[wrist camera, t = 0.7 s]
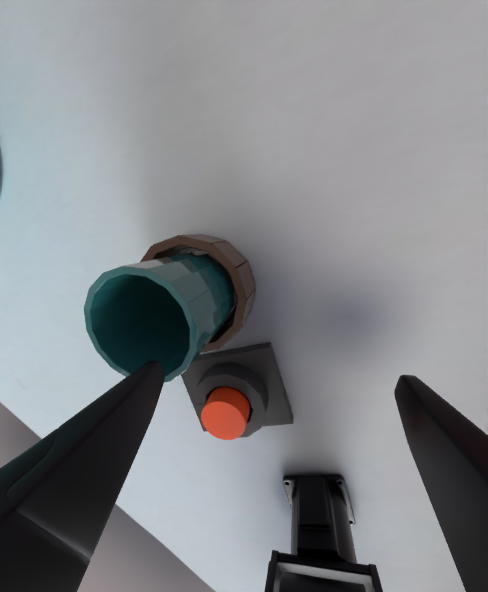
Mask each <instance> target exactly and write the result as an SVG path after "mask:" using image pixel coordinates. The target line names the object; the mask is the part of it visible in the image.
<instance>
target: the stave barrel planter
mask: <svg viewBox="0 0 488 592" xmlns="http://www.w3.org/2000/svg"><path fill="white" fill-rule="evenodd" d="M187 247H191V248H195V249H199V250H203V251H207V252H209V253H210V254H211V255H212V256H213V257H214V258H215V259H216V260H217V261H218V262H219V263H220V264H221V265H222V266H223V267H225V268H226V269H227V270H228V271H229V273H230V276H231V279H232V282H233V285H234V288H235V291H236V295H237V298H238V302H237V307H236V311H235V316H234V319H233V320H232V321H231V322H230V323H229V324H224V325H222V326H221V327H220V328H219V330H218V331H217V332H216V333H215V335H214V336H213V337H212V339H211V340H210V341H209V342H208V344H207V345H206V346H205V347H204V349H203V350H202V351H201V353H202V352H207V351H212V350H217V349H220V348H222V347H223V346H224V345H225V344H226V343H227V342H228V341H229V340H230V339H231V338H232V337H233V336H234V335H235V334H236V333H237V332H239V331H240V329H241V327H242V325H243V324H244V322H245V320H246V318H247V317H248V315H249V313H250V311H251V307H252V302H253V298H254V294H255V290H256V288H255V287H256V286H255V282H254V279H253V276H252V273H251V269H250V266H249V263H248V261H247V259H246V258H245V257H243V256H242V255H241V254H240V253H239V252H238V251H237V250H236V249H235V248H234V247H233V246H232V245H231V244H230V243H229V242H226V240H222V239H218V238H214V237H210V236H206V235H180V236H176V237H173V238H170V239H168V240H165V241H162V242H159V243H157V244H154V245H153V246H151V247H150V249H149V250H148V251H147V253H146V254H145V256H144V257H143V259H142V260H141V261H140V262H145V261H150V260H155V259H160V258H165V257H169V256H174V255H177V254H178V252H179V251H180V250H181V249H184V248H187ZM246 261H247V262H246Z"/></svg>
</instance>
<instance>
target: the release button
mask: <svg viewBox="0 0 488 592" xmlns="http://www.w3.org/2000/svg"><path fill="white" fill-rule="evenodd" d="M249 411H250V405H249V401H248V399H247V398H246V396H245V395H244V394H243V393H242V392H241V391H239V390H237V389H235V388H232V387H227V386H224V387H219V388H217V389H215V390H214V391H213V392H212V393H211V394H210V396H209V398H208V400H207V402H206V404H205V406H204V408H203V410H202V413H201V420H202V423H203V425H204V427H205V428H206V430H207V431H208V432H209V433H210V434H212V435H213V436H215V437H217V438H220V439H224V440H233V439H236V438H238V437H240V436H241V435H242V434H243V432H244V430H245V427H246V423H247V419H248V415H249Z"/></svg>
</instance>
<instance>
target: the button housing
mask: <svg viewBox="0 0 488 592" xmlns="http://www.w3.org/2000/svg"><path fill="white" fill-rule="evenodd" d="M181 376H182V379H183V381H184V384H185V386H186V389H187V391H188V393H189V396H190V398H191V401H192V403H193V406H194V408H195V411H196V413H197V416H198V418H199V421H200V423H201V426H202V428H203V431H207V430H206V428H205V427H204V425H203V423H202V420H201V413H202V410H203V408H204V406H205V404H206V402H207V400H208V398H209V396H210V394H211V393H212V392H213V391H214V390H215V389H217V388H219V387H224V386H227V387H232V388H235V389H237V390H239V391H241V392H242V393H243V394H244V395H245V396H246V398H247V399H248V401H249V405H250V411H249V415H248V419H247V423H246V427H245V430H244V432H243V434H242V435H241V436H240V437H249V436H250V435H252V434H253V433H254V432H256V431H257V430H259V429H260V428H261V427H262V426H273V425H284V424H293V414H292V411H291V407H290V404H289V401H288V398H287V394H286V391H285V388H284V385H283V381H282V378H281V375H280V372H279V368H278V365H277V362H276V359H275V355H274V352H273V349H272V346H271V343H266V344H260V345H255V346H250V347H244V348H239V349H234V350H229V351H223V352H218V353H213V354H207V355H202V356H197V358H196V359H195V360H194V361H193V363H192V364H191V365H190V367H189V368H188V369H187V370H186V371H185V372H183V373H182V374H181ZM240 437H238V438H240Z"/></svg>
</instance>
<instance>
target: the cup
mask: <svg viewBox="0 0 488 592" xmlns="http://www.w3.org/2000/svg"><path fill="white" fill-rule="evenodd" d="M237 302H238V298H237V295H236V291H235V288H234V285H233V282H232V279H231V276H230V273H229V271H228V270H227V269H226V268H225V267H223V266H222V265H221V264H220V263H219V262H218V261H217V260H216V259H215V258H214V257H213V256H212V255H211V254H210V253H209V252H207V251H194V252H189V253H184V254H179V255H174V256H169V257H165V258H160V259H155V260H150V261H145V262H140V263H135V264H130V265H126V266H121V267H119V268H116V269H113V270H110V271H107V272H104V273H103V274H102V275H101V276H100V277H99V278H98V279H97V280H96V281H95V282H94V284H93V285H92V286H91V287H90V289H89V291H88V295H87V298H86V302H85V306H84V314H85V322H86V330H87V332H88V334H89V337H90V339H91V341H92V343H93V345H94V347H95V349H96V351H97V352H98V353H99V354H100V356H101V357H102V358H103V359H104V360H105V361H106V362H107V363H108V364H109V366H110V367H111V368H112V369H114V370H116V371H117V372H119V373H121V374H122V375H124V376H126V377H127V376H129V375H130V374H132V373H133V372H134V371H136V370H137V369H138V368H140V367H141V366H142V365H144V364H145V363H146V362H148V361H150V360H153V361H159V362H160V363H161V365H162V368H163V371H164V373H165V380H164V382H169V381H172V380H173V379H175V378H176V377H178V376H179V375H180V374H182V373H183V372H185V371H186V370H187V369H188V368H189V367H190V365H191V364H192V363H193V361H194V360H195V359H196V358H197V356H198V355H199V354H200V353H201V351H202V350H203V349H204V347H205V346H206V345H207V344H208V342H209V341H210V340H211V339H212V337H213V336H214V335H215V333H216V332H217V331H218V330H219V328H220V327H221V326H222V325H223V323H224V322H225V321H226V319H227V318H228V317H229V316H230V314H231V313H232V311H233V310H234V308H235V307H236V305H237Z"/></svg>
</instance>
